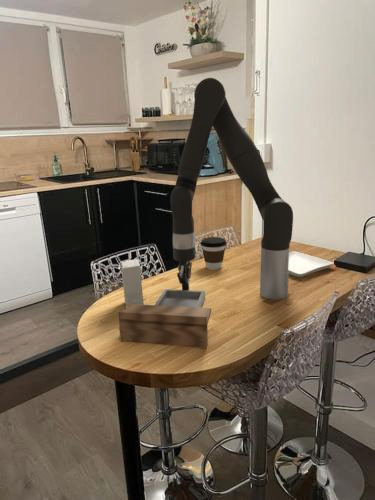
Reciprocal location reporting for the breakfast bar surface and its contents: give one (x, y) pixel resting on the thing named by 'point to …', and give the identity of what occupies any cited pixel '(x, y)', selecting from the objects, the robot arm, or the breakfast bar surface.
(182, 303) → the slate tray
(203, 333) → the walnut cantilever shelf
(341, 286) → the breakfast bar surface
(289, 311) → the breakfast bar surface
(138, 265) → the skincare box
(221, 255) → the coffee cup
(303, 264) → the salad plate
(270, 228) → the robot arm
